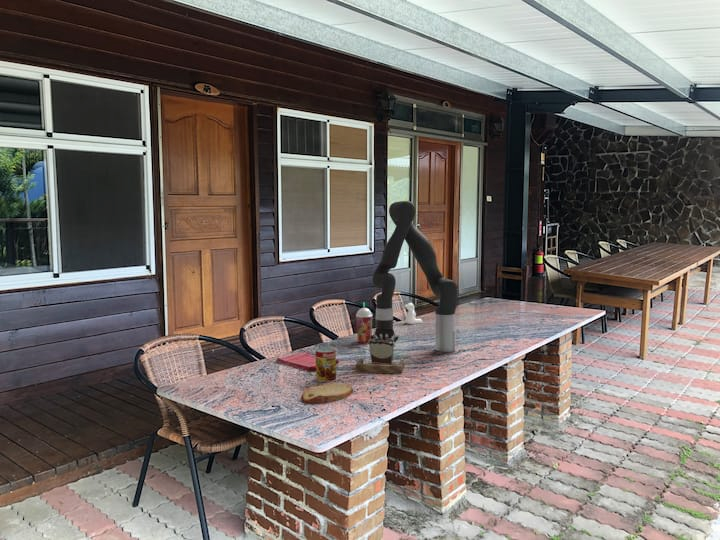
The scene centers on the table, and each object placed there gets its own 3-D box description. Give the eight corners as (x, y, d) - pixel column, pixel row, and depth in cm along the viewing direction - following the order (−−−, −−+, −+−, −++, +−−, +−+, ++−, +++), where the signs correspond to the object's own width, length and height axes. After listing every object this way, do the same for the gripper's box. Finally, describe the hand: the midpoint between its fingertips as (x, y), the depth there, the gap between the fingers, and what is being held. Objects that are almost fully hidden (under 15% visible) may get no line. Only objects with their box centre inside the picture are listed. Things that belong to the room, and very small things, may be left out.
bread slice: (353, 388, 226) (353, 379, 226) (350, 405, 208) (350, 394, 208) (306, 388, 227) (306, 378, 226) (299, 404, 209) (299, 394, 209)
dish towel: (311, 373, 247) (311, 367, 247) (274, 363, 263) (274, 357, 263) (340, 364, 260) (340, 358, 259) (303, 355, 276) (303, 350, 275)
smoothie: (375, 341, 299) (375, 301, 297) (368, 344, 291) (368, 304, 289) (360, 339, 302) (359, 300, 300) (353, 343, 295) (352, 303, 293)
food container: (399, 360, 261) (399, 338, 260) (394, 365, 256) (394, 342, 254) (373, 358, 266) (372, 336, 265) (368, 362, 261) (367, 339, 259)
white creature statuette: (422, 322, 341) (422, 301, 340) (415, 325, 334) (415, 304, 333) (408, 321, 346) (408, 300, 345) (400, 323, 339) (400, 303, 338)
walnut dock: (404, 367, 252) (404, 360, 252) (401, 373, 243) (401, 366, 243) (359, 365, 256) (359, 358, 256) (355, 371, 247) (355, 364, 246)
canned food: (328, 383, 232) (328, 352, 230) (312, 380, 236) (311, 350, 235) (340, 377, 239) (339, 348, 237) (323, 375, 243) (323, 346, 241)
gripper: (400, 316, 264) (401, 355, 266) (371, 315, 266) (371, 354, 268) (398, 320, 256) (398, 359, 258) (367, 319, 259) (368, 358, 261)
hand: (384, 356), depth 263 cm, fingers closed
